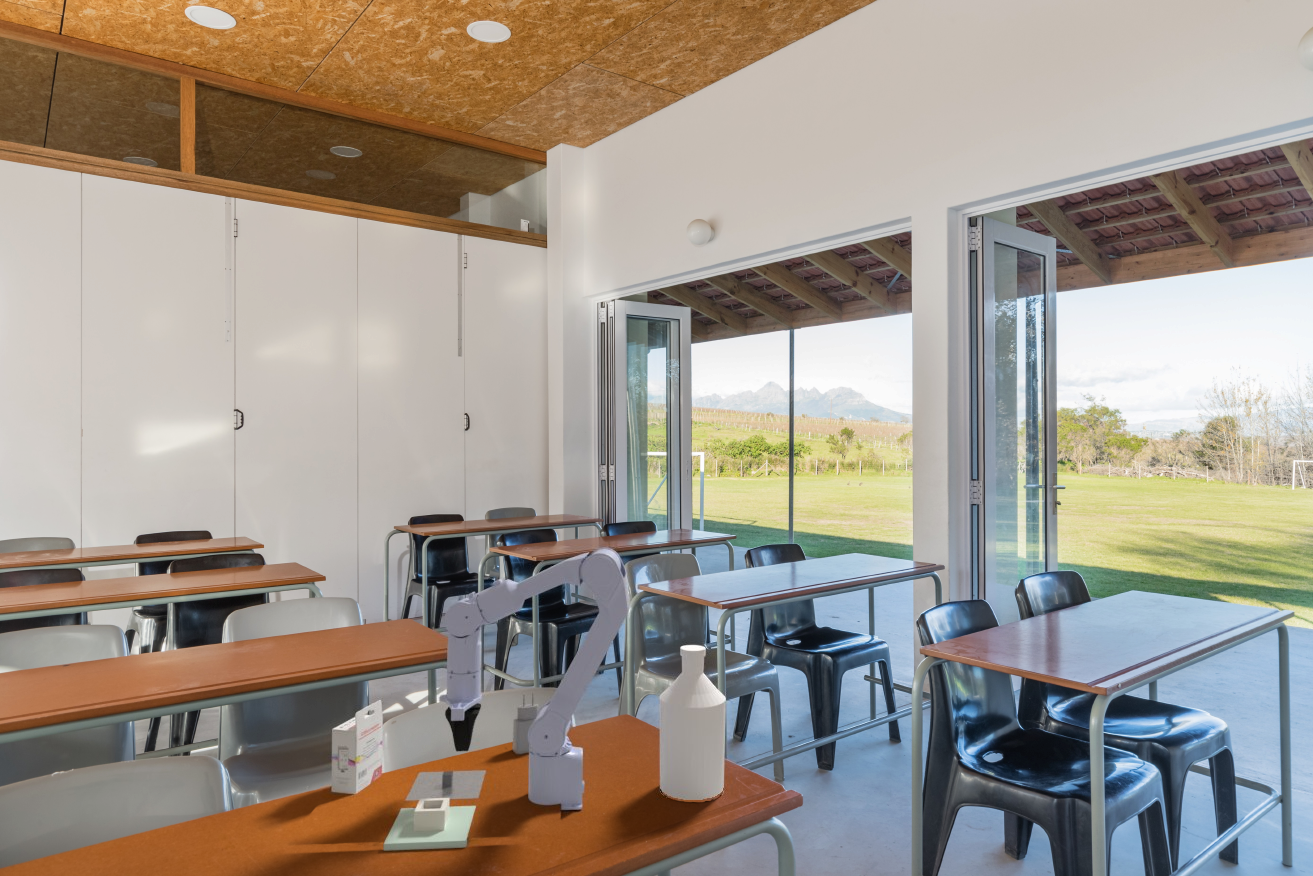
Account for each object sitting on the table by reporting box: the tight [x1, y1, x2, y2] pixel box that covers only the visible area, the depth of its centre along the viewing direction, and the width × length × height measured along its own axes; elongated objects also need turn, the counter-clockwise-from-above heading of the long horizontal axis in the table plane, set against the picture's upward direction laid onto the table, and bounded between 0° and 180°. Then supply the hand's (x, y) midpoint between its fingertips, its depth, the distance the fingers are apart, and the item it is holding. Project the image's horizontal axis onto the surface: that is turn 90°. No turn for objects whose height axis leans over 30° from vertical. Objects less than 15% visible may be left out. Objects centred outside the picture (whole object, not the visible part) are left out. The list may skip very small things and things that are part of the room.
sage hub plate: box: [383, 805, 477, 852], centre depth 122 cm, size 12×12×3 cm
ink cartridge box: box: [331, 699, 384, 795], centre depth 138 cm, size 9×5×15 cm, turn 168°
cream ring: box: [414, 798, 451, 831], centre depth 122 cm, size 5×5×3 cm
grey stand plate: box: [405, 769, 487, 802], centre depth 137 cm, size 12×12×3 cm
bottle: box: [659, 644, 727, 800], centre depth 139 cm, size 12×12×25 cm
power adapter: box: [512, 692, 540, 755], centre depth 154 cm, size 3×5×12 cm, turn 118°
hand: (462, 749), depth 134 cm, fingers closed
